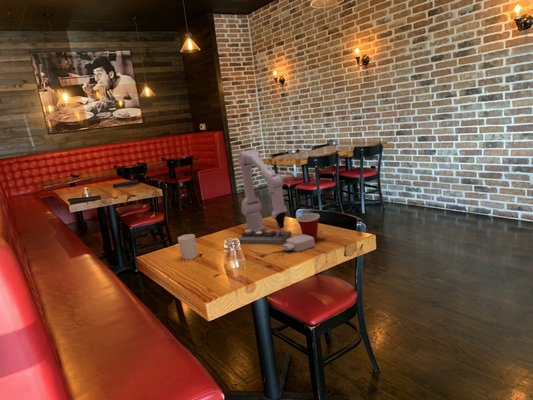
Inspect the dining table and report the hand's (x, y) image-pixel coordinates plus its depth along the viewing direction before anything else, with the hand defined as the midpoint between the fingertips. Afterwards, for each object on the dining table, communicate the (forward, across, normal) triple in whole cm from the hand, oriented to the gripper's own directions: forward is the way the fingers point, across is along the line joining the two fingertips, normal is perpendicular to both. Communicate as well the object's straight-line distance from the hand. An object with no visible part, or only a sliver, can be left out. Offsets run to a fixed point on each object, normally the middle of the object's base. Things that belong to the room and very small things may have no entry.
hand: (281, 228), depth 195 cm
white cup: (+6, -27, +37) cm, 46 cm away
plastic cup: (+6, -1, -15) cm, 16 cm away
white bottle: (+7, -13, -11) cm, 18 cm away
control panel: (+6, 0, +10) cm, 12 cm away
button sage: (+2, 0, +18) cm, 19 cm away
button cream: (+3, 0, +12) cm, 13 cm away
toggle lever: (+3, 0, 0) cm, 3 cm away
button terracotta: (+3, 0, +6) cm, 7 cm away
